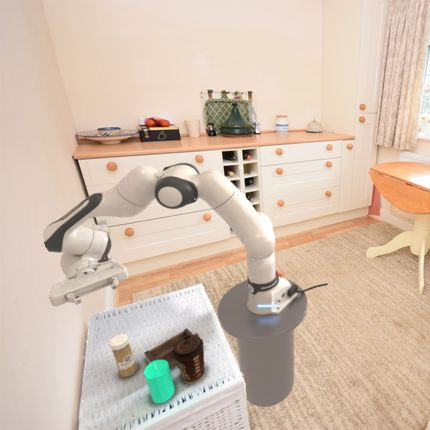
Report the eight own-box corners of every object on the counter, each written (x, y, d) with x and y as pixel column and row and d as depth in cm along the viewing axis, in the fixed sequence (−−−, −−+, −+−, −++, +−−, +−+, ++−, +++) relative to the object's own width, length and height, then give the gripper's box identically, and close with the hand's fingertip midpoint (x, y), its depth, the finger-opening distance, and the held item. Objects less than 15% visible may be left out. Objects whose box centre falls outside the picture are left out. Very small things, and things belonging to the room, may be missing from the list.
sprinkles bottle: (128, 379, 88) (117, 347, 83) (116, 375, 89) (105, 343, 84) (141, 366, 92) (131, 335, 87) (130, 362, 93) (119, 331, 88)
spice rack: (188, 335, 104) (185, 320, 101) (201, 349, 99) (198, 334, 96) (146, 359, 94) (141, 344, 92) (158, 377, 89) (153, 361, 86)
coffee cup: (190, 359, 95) (184, 329, 90) (213, 364, 94) (208, 334, 88) (172, 383, 87) (164, 352, 82) (197, 389, 86) (191, 358, 81)
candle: (147, 395, 84) (138, 366, 79) (167, 379, 88) (160, 351, 84) (158, 407, 81) (149, 378, 76) (178, 391, 85) (171, 362, 81)
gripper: (39, 281, 88) (48, 303, 80) (117, 255, 102) (131, 271, 94) (47, 298, 91) (56, 320, 82) (121, 270, 105) (136, 287, 97)
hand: (97, 294), depth 88 cm, fingers open, 8 cm apart
